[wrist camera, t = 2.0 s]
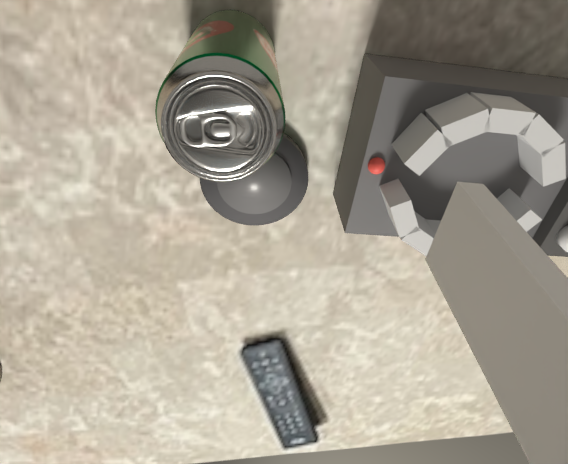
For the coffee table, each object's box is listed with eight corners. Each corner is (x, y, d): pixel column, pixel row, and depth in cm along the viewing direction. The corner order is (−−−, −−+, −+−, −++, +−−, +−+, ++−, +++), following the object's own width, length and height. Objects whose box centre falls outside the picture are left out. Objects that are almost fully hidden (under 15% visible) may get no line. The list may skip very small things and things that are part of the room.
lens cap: (200, 215, 32) (198, 224, 31) (201, 119, 27) (199, 125, 27) (298, 222, 33) (300, 230, 32) (315, 130, 28) (317, 136, 27)
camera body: (333, 194, 31) (352, 256, 25) (364, 53, 26) (398, 90, 20) (529, 209, 33) (590, 271, 27) (598, 82, 28) (696, 124, 22)
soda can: (273, 97, 27) (285, 190, 17) (194, 96, 27) (160, 191, 17) (274, 9, 24) (289, 61, 14) (185, 7, 24) (138, 59, 14)
